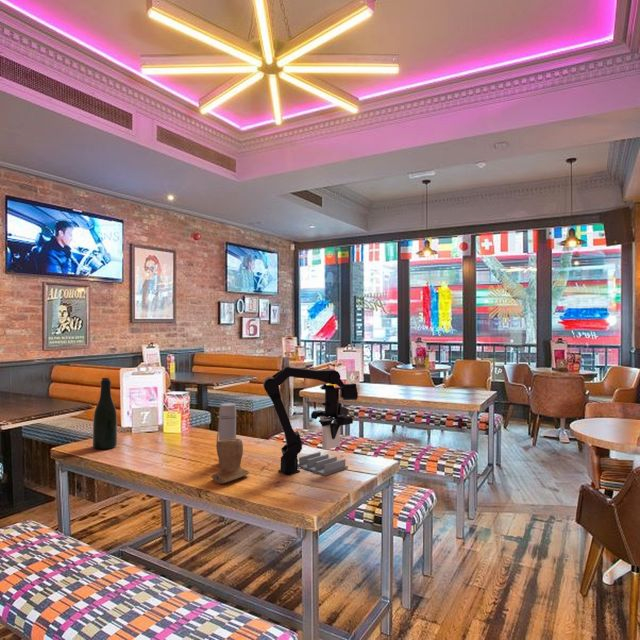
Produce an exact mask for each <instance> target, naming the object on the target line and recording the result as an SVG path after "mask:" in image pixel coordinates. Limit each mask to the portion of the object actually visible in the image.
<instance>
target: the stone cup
mask: <svg viewBox="0 0 640 640" xmlns="http://www.w3.org/2000/svg"><path fill="white" fill-rule="evenodd" d="M216 442H217V441H216ZM216 453H217V458H218V463H219V462H220V464H219V471H217V472H216V473H213V474H211V476H210V477H211V478H212V480H214V482H216V483H217V484H219V485H221V484H226V483H229V482H232V481H235V480H237V479H240V478H243V477H245V476H247V475H249V474H250V471H249V470H246V469H244V468H242V467H241V465H242V459H243V453H244V445H243V441H242V439H241V438H236V439H224V440H219V439H218V442H217V449H216Z"/></svg>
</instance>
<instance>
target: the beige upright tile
mask: <svg viewBox="0 0 640 640" xmlns="http://www.w3.org/2000/svg"><path fill="white" fill-rule="evenodd" d="M321 437H322V442H321V449H323V450H332V449H334V448H338V447H341V426H340V427H339V429H338V432H337V434H336V437H335V439H332V435H331V428H330V425H326V426H323V427H322V436H321Z"/></svg>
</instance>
